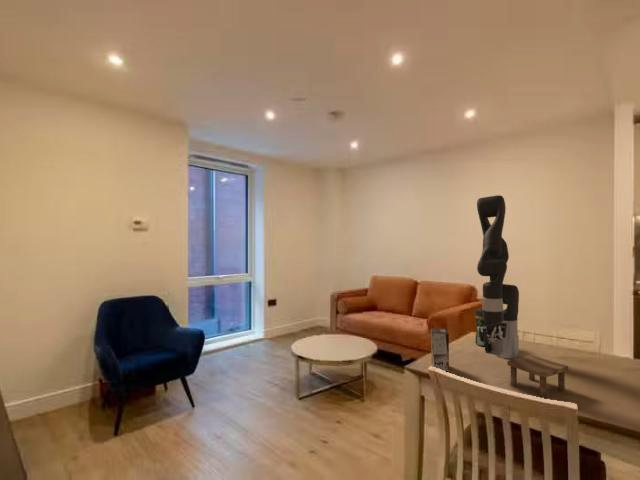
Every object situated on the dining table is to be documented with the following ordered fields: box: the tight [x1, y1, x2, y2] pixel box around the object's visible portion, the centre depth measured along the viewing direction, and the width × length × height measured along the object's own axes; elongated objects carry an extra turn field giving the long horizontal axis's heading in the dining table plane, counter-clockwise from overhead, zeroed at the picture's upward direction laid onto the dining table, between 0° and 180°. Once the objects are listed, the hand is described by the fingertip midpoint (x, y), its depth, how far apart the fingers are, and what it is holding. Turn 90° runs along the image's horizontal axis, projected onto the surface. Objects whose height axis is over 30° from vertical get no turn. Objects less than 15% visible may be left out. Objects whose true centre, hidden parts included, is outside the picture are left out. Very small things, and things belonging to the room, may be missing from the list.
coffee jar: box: [474, 308, 495, 347], centre depth 186 cm, size 10×8×19 cm
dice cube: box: [484, 338, 503, 357], centre depth 145 cm, size 5×5×5 cm
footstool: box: [506, 354, 569, 399], centre depth 135 cm, size 14×14×9 cm
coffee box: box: [430, 327, 450, 373], centre depth 156 cm, size 9×6×16 cm
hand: (493, 350), depth 146 cm, fingers closed on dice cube, 5 cm apart
